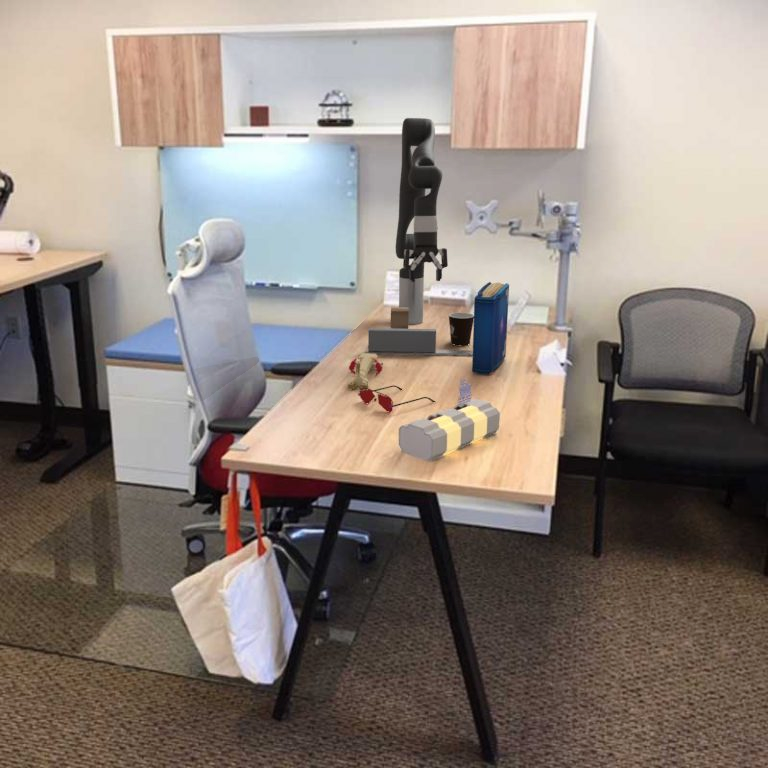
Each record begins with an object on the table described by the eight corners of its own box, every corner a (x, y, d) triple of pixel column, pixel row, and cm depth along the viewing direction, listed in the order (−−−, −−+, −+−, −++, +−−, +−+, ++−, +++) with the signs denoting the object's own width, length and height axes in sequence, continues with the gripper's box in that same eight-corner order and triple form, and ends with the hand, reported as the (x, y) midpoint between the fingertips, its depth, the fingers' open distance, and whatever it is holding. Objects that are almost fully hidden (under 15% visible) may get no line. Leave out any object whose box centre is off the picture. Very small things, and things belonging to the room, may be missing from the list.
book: (492, 377, 245) (496, 295, 237) (469, 375, 247) (472, 293, 240) (505, 358, 265) (510, 282, 257) (484, 356, 267) (487, 280, 259)
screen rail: (365, 351, 272) (365, 348, 272) (486, 352, 271) (486, 350, 271) (365, 354, 268) (365, 352, 268) (487, 356, 267) (487, 353, 267)
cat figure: (374, 395, 233) (386, 364, 256) (374, 366, 229) (386, 337, 252) (340, 393, 234) (354, 362, 257) (339, 365, 231) (354, 336, 253)
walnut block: (390, 340, 285) (391, 307, 282) (408, 341, 285) (408, 307, 281) (390, 345, 279) (390, 311, 275) (408, 345, 279) (408, 311, 275)
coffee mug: (473, 347, 278) (475, 318, 275) (448, 346, 278) (449, 318, 275) (471, 338, 289) (472, 310, 286) (446, 338, 289) (447, 310, 286)
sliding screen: (368, 348, 271) (368, 328, 269) (435, 349, 271) (435, 329, 269) (368, 351, 268) (368, 330, 266) (435, 352, 268) (436, 331, 266)
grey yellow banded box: (465, 425, 207) (467, 375, 203) (498, 435, 201) (501, 384, 197) (398, 452, 190) (399, 398, 186) (432, 464, 183) (433, 409, 179)
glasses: (357, 403, 223) (357, 385, 222) (402, 391, 234) (402, 374, 232) (390, 416, 213) (390, 398, 212) (436, 403, 223) (436, 386, 222)
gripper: (442, 229, 267) (442, 279, 270) (400, 230, 263) (401, 281, 267) (450, 230, 260) (450, 281, 263) (407, 231, 256) (407, 283, 260)
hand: (425, 281), depth 265 cm, fingers open, 8 cm apart
